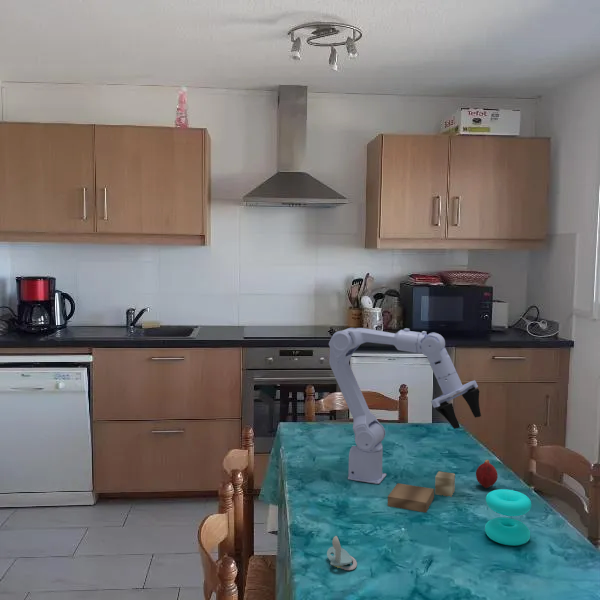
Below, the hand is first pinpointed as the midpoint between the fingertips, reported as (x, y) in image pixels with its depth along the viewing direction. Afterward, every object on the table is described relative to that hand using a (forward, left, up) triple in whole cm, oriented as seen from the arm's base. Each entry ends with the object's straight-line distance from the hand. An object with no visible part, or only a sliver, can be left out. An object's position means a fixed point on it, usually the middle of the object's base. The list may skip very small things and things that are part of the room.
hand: (467, 422), depth 166 cm
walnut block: (-12, -11, -20) cm, 26 cm away
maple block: (-5, -1, -20) cm, 21 cm away
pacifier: (-18, -49, -20) cm, 56 cm away
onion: (+5, +7, -20) cm, 22 cm away
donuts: (+13, -22, -20) cm, 32 cm away
